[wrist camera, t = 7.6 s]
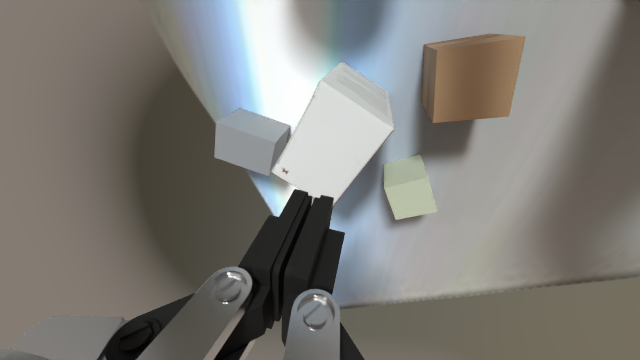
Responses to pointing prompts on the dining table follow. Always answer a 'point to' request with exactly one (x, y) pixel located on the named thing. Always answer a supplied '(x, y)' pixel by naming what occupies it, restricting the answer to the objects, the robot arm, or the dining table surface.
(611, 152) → the dining table surface
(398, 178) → the sage block
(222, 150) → the slate block
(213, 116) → the dining table surface
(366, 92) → the small box
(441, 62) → the walnut block
